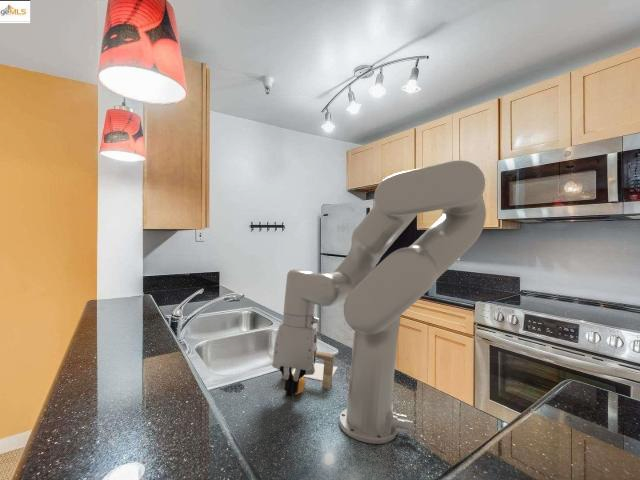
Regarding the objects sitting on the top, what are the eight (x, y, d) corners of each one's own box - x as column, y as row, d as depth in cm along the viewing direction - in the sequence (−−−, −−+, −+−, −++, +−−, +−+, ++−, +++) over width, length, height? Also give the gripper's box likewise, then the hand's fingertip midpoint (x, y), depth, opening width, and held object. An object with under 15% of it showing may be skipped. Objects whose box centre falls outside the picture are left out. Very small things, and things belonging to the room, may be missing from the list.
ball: (303, 397, 77) (306, 390, 82) (303, 376, 77) (306, 370, 82) (284, 397, 77) (288, 390, 82) (283, 376, 78) (288, 370, 83)
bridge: (285, 374, 90) (288, 345, 91) (331, 384, 87) (334, 353, 87) (281, 378, 88) (284, 348, 88) (329, 389, 84) (331, 357, 84)
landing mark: (337, 367, 99) (337, 366, 99) (329, 382, 88) (329, 381, 88) (302, 360, 103) (302, 360, 103) (289, 374, 91) (289, 373, 91)
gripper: (330, 321, 78) (323, 393, 78) (275, 312, 81) (268, 382, 81) (324, 328, 71) (316, 408, 70) (263, 318, 74) (256, 395, 74)
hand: (290, 394), depth 76 cm, fingers closed
